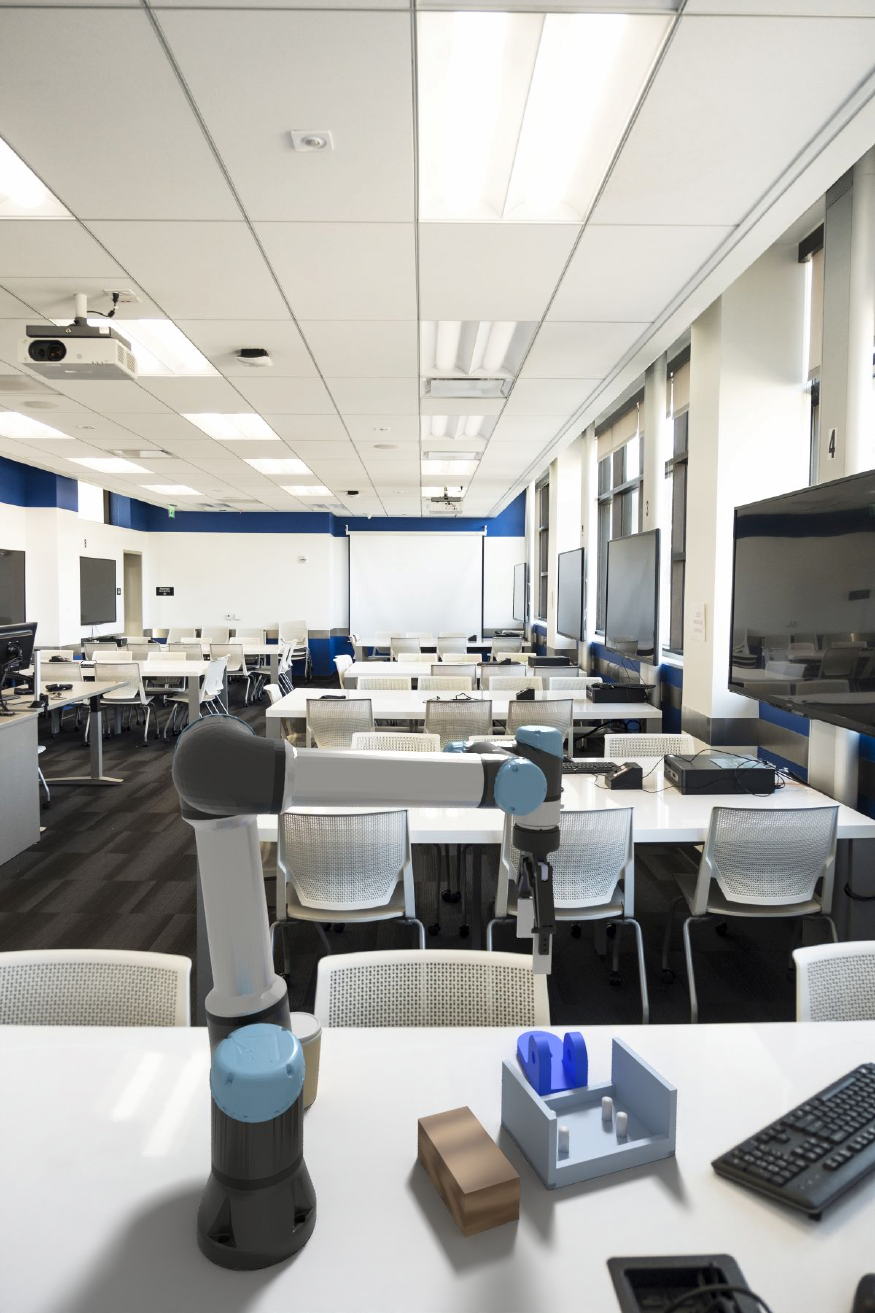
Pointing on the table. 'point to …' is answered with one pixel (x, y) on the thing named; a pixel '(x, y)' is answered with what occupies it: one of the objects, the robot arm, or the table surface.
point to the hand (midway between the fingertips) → (532, 954)
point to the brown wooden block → (468, 1170)
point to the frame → (592, 1121)
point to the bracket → (553, 1061)
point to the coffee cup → (308, 1050)
